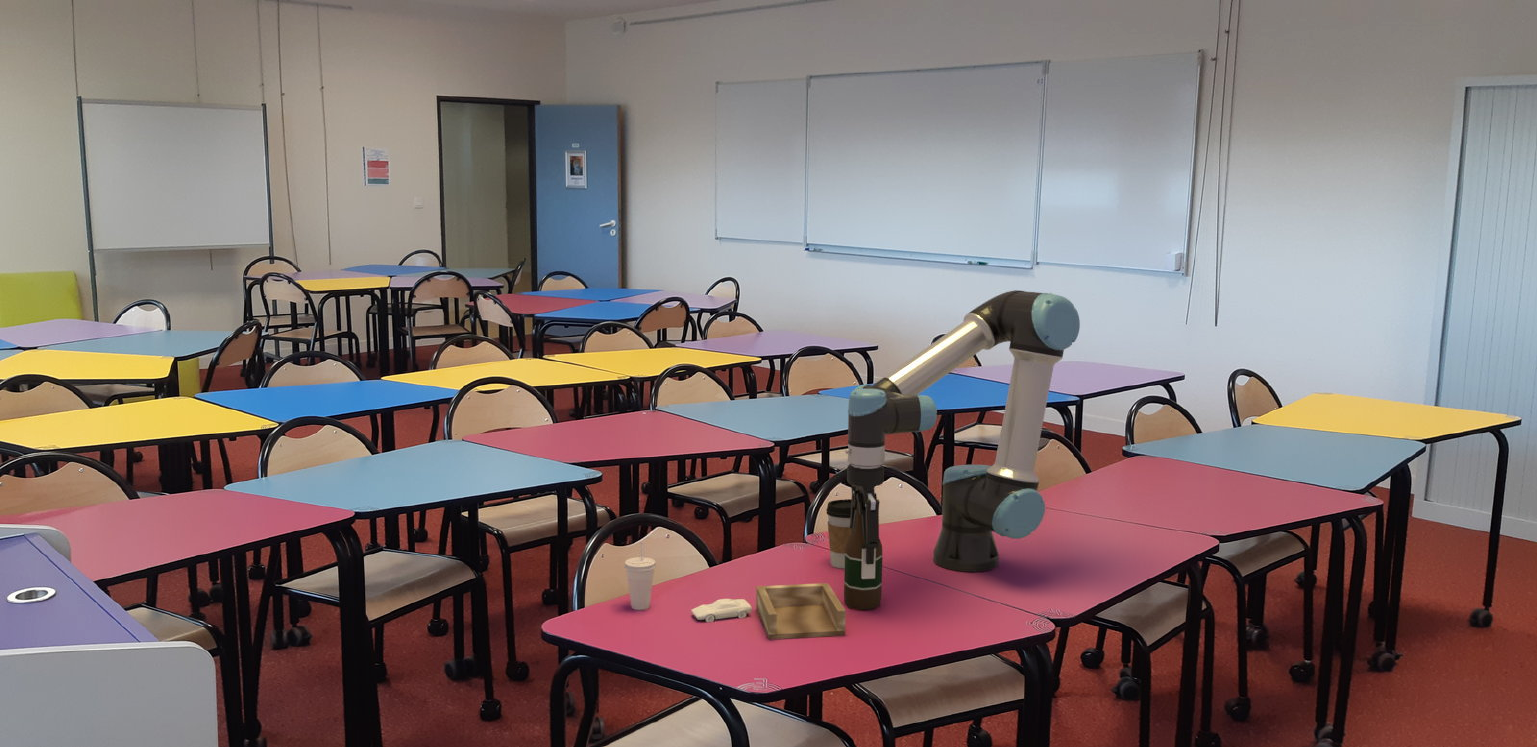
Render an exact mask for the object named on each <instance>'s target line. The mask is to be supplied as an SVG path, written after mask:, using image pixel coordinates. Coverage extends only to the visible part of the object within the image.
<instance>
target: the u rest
mask: <svg viewBox="0 0 1537 747" xmlns="http://www.w3.org/2000/svg"><path fill="white" fill-rule="evenodd" d="M755 589H756V594H755V595H756V599H755V600H756V601H755V602H756V604H755V605H756V606H755V607H756V613H757V614H758V617H759V620H760V622H761V624H762V627H763V629H764V631H765V634H766V636H767V639H768V640H769V641H770V640H784V639H804V638H807V639H808V638H821V637H825V638H826V637H839V636H840V637H841V636H842V637H843V636H846V620H847V618H846V616H847V615H846V614H847V612H846V609H845V607H844V606H843V604H842V603H841V601H840V600H839V598H838V596H837V595H836V594H835V591H834V590H833V589H832V587H831V585H830V584H829V583H828V582H826V583H825V582H824V583H823V582H822V583H819V582H818V583H804V584H803V583H801V584H782V585H781V584H780V585H779V584H778V585H760V586H759V585H758V586H756V588H755Z"/></svg>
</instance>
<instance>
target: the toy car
mask: <svg viewBox="0 0 1537 747" xmlns="http://www.w3.org/2000/svg"><path fill="white" fill-rule="evenodd" d="M752 607H753V606H751V604H750V603H749V602H748V601H746V600H745V598H741V599H739V598H737V599H733V598H721V599H717V600H715V601H713V602H712V603H709V604H701V605H699V606H696V607H694V608H692V609H691V613H692V615H693V616H694V617H695V618H696V619H697V620H700V621H702V620H703V621H704V620H705V622H706V623H713V622H714V621H715V620H722V619H729V618H736V617H738V619H745V618H746V617H747V614H750V613H751V612H752V609H753V608H752Z"/></svg>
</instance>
